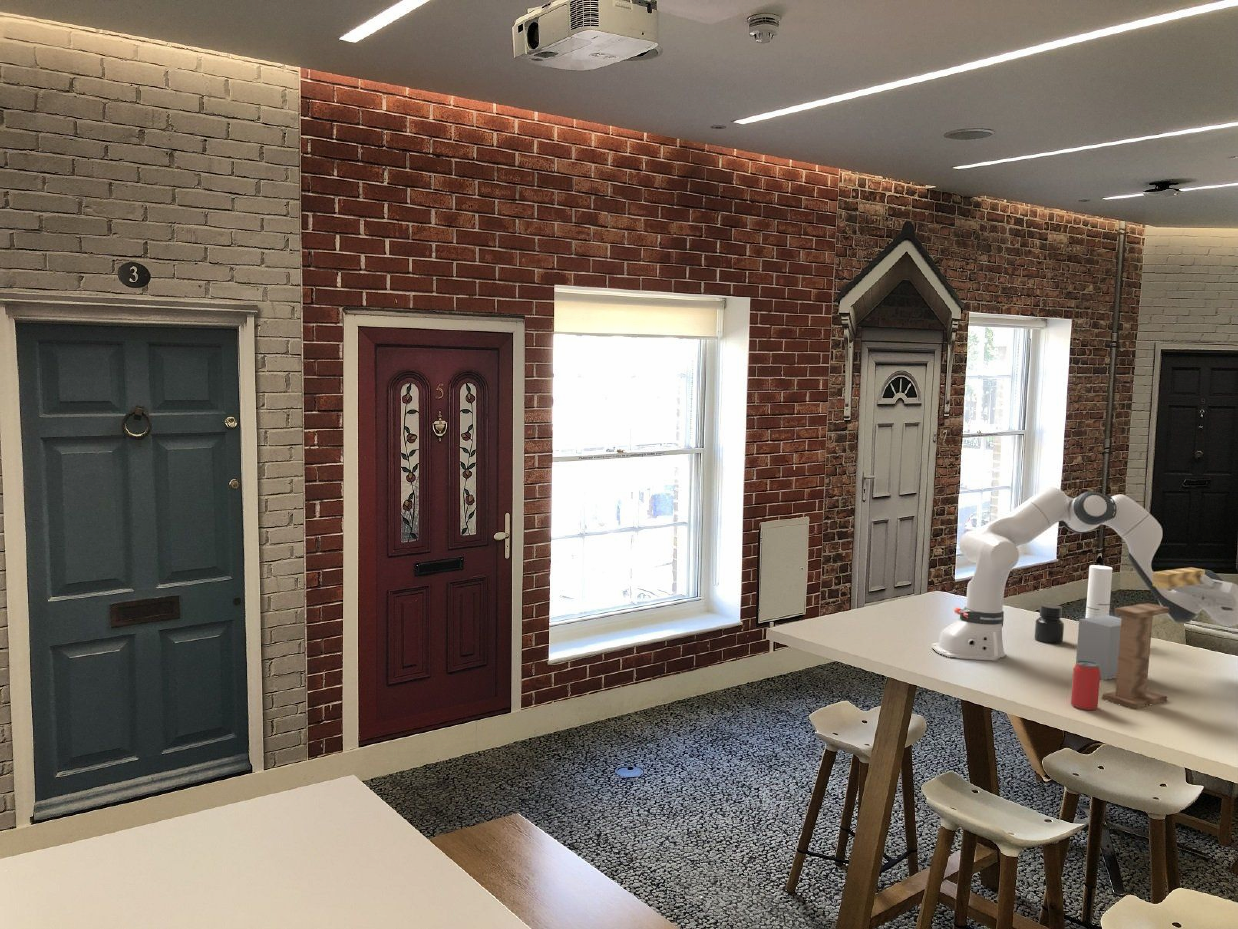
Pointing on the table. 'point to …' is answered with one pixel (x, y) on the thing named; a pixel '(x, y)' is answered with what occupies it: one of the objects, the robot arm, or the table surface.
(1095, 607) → the cylindrical container
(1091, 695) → the beer can
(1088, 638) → the ledge block
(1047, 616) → the ink bottle
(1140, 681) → the stand
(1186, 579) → the bar
